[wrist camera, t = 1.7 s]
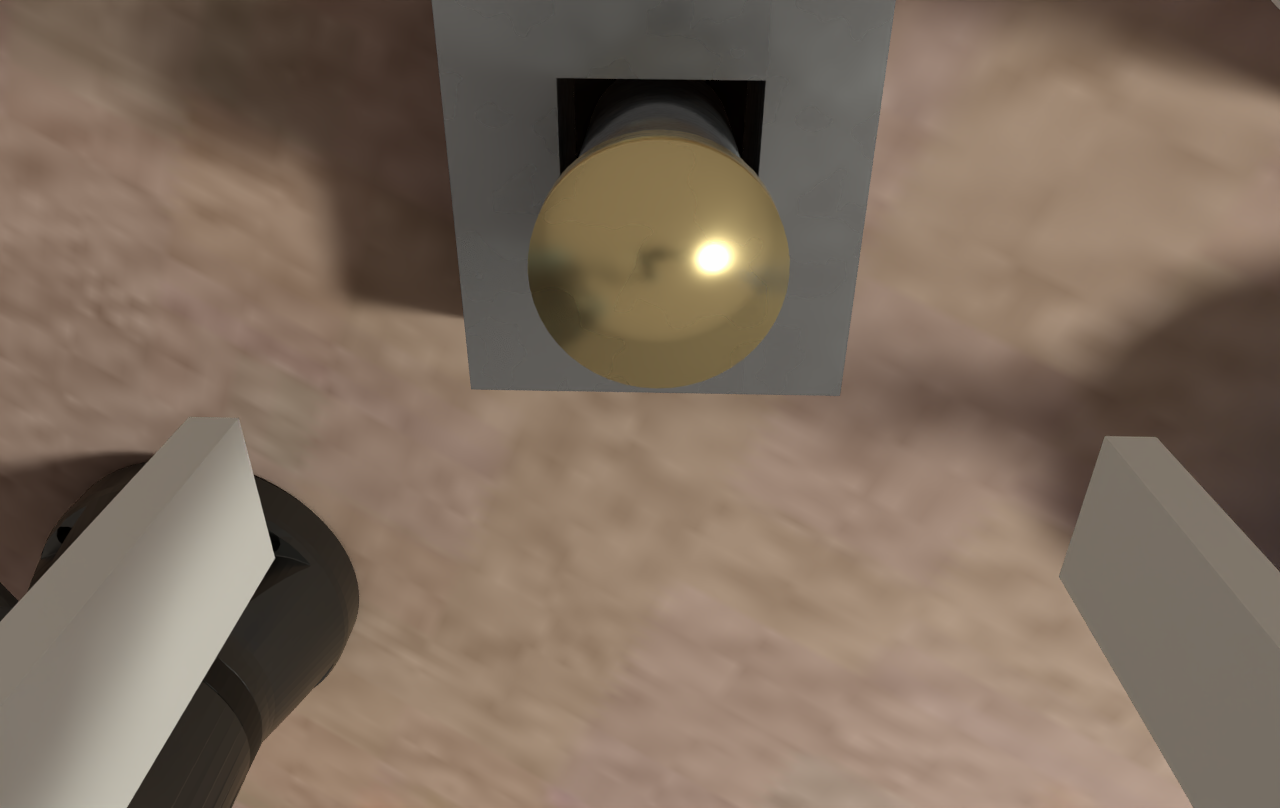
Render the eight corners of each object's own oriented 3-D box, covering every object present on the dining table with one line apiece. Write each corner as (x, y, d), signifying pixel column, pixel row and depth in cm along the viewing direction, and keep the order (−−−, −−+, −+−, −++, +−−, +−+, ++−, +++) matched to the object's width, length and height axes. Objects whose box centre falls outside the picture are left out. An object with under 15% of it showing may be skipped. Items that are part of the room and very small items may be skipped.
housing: (497, 323, 38) (471, 389, 33) (463, -96, 30) (421, -96, 25) (815, 328, 38) (839, 395, 33) (865, -92, 30) (908, -91, 25)
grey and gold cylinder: (578, 220, 36) (534, 386, 24) (573, 50, 33) (519, 138, 20) (738, 222, 36) (777, 390, 24) (749, 51, 33) (802, 143, 20)
